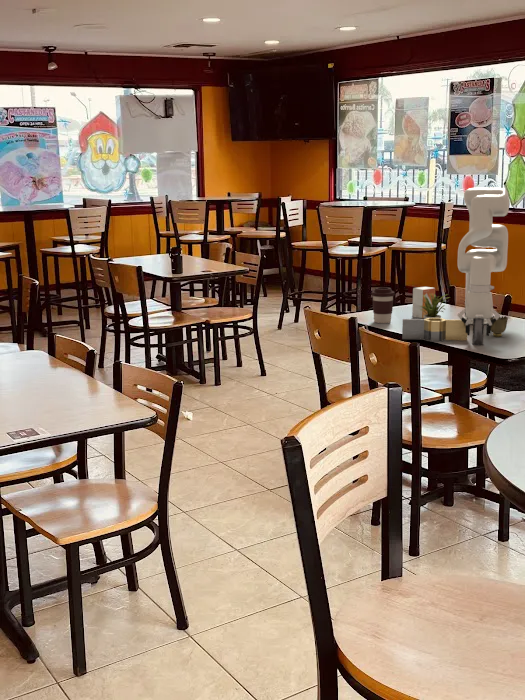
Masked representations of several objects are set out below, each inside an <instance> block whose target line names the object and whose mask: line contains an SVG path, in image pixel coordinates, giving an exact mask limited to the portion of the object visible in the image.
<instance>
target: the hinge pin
mask: <svg viewBox="0 0 525 700" xmlns="http://www.w3.org/2000/svg"><path fill="white" fill-rule="evenodd" d="M475 317H483V315H478V314H476V315H475ZM484 325H485V324H484V319H482V318H476V319H473V324H472V339H471V341H472V343H471V344H472V345H473V346H483V345H484V330H485V328H484V327H485V326H484Z"/></svg>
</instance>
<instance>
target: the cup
mask: <svg viewBox="0 0 525 700" xmlns="http://www.w3.org/2000/svg"><path fill="white" fill-rule="evenodd" d="M494 317H495V315H493V316H492V318H490V320H492V319H493V318H494ZM508 319H509V318H508V317H507V316H506V315H505V316H503V315H502V316H500V317H499V318H498V319H497V320H496V321H495V322H494V323H493V324H492V325H491V333H492V337H495V338H502V336H503V333H505V331H506V329H507V324H508Z"/></svg>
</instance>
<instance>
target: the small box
mask: <svg viewBox="0 0 525 700" xmlns="http://www.w3.org/2000/svg"><path fill="white" fill-rule="evenodd" d="M429 293H430V294H432V295H430V294H429ZM434 294H435V295H436V288H435V287H433V286H432V287H430V286H420V287H413V288H412V317H413V318H417V319H424V315H428V313H427V311H426V310H425V309H424V308H422V307H420V306H423V307H424V306H425V303H424V302H426V300H425V298H424V296H425V297H427V298H428V300H429V302H430V303H431V305H432V299H431V296H432V297H433V299H434ZM423 295H424V296H423ZM421 299H422V300H423V301H424V302H423V301H422V300H421ZM425 308H426V307H425ZM419 309H422V310H419ZM423 310H424V311H425V312H426V313H427V314H426V313H425V312H424V311H423Z"/></svg>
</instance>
